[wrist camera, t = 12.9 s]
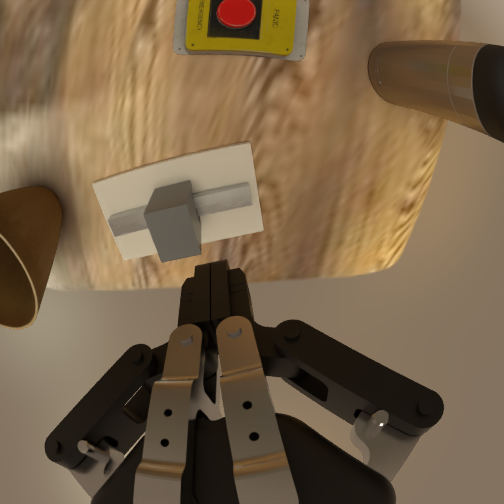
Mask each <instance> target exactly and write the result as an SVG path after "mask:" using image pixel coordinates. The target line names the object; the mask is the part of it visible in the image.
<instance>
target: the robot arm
mask: <svg viewBox="0 0 504 504" xmlns="http://www.w3.org/2000/svg"><path fill="white" fill-rule="evenodd" d="M368 71H369V76H370V80H371V83H372V85H373V87H374V88H375V90H376V92H377V93H378V94H379V95H380V96H381V97H382V98H383V99H384V100H386V101H388V102H390V103H393V104H396V105H400V106H404V107H408V108H411V109H415V110H418V111H422V112H425V113H428V114H431V115H435V116H438V117H441V118H444V119H447V120H450V121H453V122H455V123H458V124H461V125H463V126H466V127H469V128H471V129H474V130H476V131H479V132H481V133H484V134H486V135H488V136H490V137H493V138H495V139H497V140H499V141H501V142H503V143H504V46H499V45H491V44H485V43H475V42H462V41H441V40H420V41H397V42H385V43H382V44H380V45H378V46H377V47H376V48H375V49H374V50H373V52H372V53H371V56H370V58H369V64H368ZM218 355H219V358H220V365H221V372H222V376H220V367H219V365H218ZM266 376H274V377H281V378H282V379H283V380H284V381H285V382H287V383H288V384H289V385H291V386H292V387H294V388H295V389H297V390H298V391H300V392H301V393H303V394H304V395H306V396H307V397H309V398H310V399H312V400H313V401H315V402H317V403H318V404H319V405H321V406H322V407H324V408H326V409H327V410H329V411H330V412H332V413H334V414H335V415H337V416H338V417H340V418H342V419H343V420H345V421H346V422H348V423H350V424H351V425H353V427H352V429H351V432H350V437H351V441H352V443H353V444H354V445H355V446H356V447H357V448H358V449H359V450H360V451H361V453H362V454H363V458H364V462H363V463H362V462H360V461H359V460H357V459H356V458H354V457H353V456H351V455H350V454H348V453H347V452H345V451H344V450H342V449H341V448H339V447H338V446H336V445H334V444H333V443H332V442H330V441H329V440H327V439H326V438H325V437H323V436H322V435H320V434H319V433H318V432H316V431H315V430H314V429H312V428H311V427H309V426H308V425H307V424H305V423H304V422H302V421H301V420H299V419H297V418H295V417H292V416H289V415H286V414H281V413H276V412H275V409H274V405H273V402H272V398H271V394H270V391H269V387H268V383H267V380H266ZM141 386H142V387H141ZM140 387H141V388H140ZM220 387H221V394H222V400H223V407H224V412H225V417H223V418H222V416H221V412H220V407H219V397H220ZM139 388H140V390H138V389H139ZM137 390H138V392H137V393H136V394H135V392H136V391H137ZM134 394H135V395H134ZM133 395H134V396H133ZM132 396H133V397H132ZM131 397H132V398H131ZM130 398H131V399H130ZM129 399H130V401H129V402H128V403H127V401H128V400H129ZM126 403H127V404H126ZM125 404H126V405H125ZM124 405H125V406H124ZM443 411H444V404H443V401H442V398H441V397H440V396H439V394H437V393H436V392H435V391H433V390H430V389H428V388H427V387H425V386H423V385H420V384H418V383H417V382H415V381H413V380H411V379H409V378H407V377H405V376H403V375H401V374H399V373H397V372H395V371H393V370H391V369H389V368H387V367H385V366H383V365H381V364H380V363H378V362H375V361H374V360H372V359H370V358H368V357H366V356H364V355H362V354H361V353H359V352H357V351H355V350H353V349H351V348H349V347H348V346H346V345H344V344H342V343H340V342H339V341H337V340H335V339H333V338H331V337H329V336H328V335H326V334H324V333H322V332H320V331H318V330H317V329H315V328H313V327H311V326H310V325H308V324H306V323H304V322H302V321H300V320H287V321H284V322H282V323H280V324H279V325H278V326H277V327H276V328H272V327H264V326H261V325H259V324H257V323H256V322H255V321H254V315H253V309H252V303H251V297H250V293H249V288H248V284H247V280H246V276H245V274H244V272H243V271H242V270H241V269H240V268H236V269H231V270H230V268H229V265H228V261H227V259H226V260H221V261H216V262H211V263H207V264H202V265H197V266H195V273H194V277H191V278H187V279H186V281H185V282H184V284H183V285H182V289H181V298H180V308H179V317H178V328H176V329H175V330H174V331H173V332H172V333H171V335H170V338H169V341H168V342H167V343H165V344H163V345H161V346H159V347H156V348H154V349H151V348H150V347H149V346H147V345H145V344H137V345H134V346H132V347H130V348H129V349H128V350H127V351H126V352H125V353H124V354H123V355H122V356H121V358H119V360H118V361H117V362H116V363H115V364H114V365H113V366H112V367H111V368H110V369H109V370H108V371H107V372H106V373H105V374H104V376H103V377H102V378H101V379H100V380H99V381H98V382H97V383H96V384H95V385H94V386H93V387H92V388H91V389H90V391H89V392H88V393H87V394H86V395H85V396H84V397H83V398H82V399H81V400H80V401H79V403H78V404H77V405H76V406H75V407H74V408H73V409H72V410H71V411H70V412H69V414H68V415H67V416H66V417H65V418H64V419H63V420H62V421H61V422H60V424H59V425H58V426H57V427H56V428H55V429H54V430H53V431H52V432H51V434H50V435H49V436H48V437H47V439H46V441H45V453H46V455H47V457H48V458H49V459H50V460H51V461H53V462H55V463H57V464H59V465H61V466H63V467H65V468H67V469H68V470H69V471H70V472H71V473H72V475H73V476H74V477H75V479H76V480H77V481H78V482H79V484H80V485H81V486H82V487H83V489H84V490H85V491H86V492H87V493H88V495H89V496H90V497H91V498H92V500H91V504H396V495H395V491H394V488H393V486H392V484H391V483H390V482H391V481H392V480H393V478H394V477H395V475H396V474H397V473H398V471H399V470H400V468H401V467H402V465H403V464H404V462H405V461H406V459H407V458H408V456H409V455H410V453H411V452H412V450H413V448H414V447H415V445H416V443H417V442H418V440H419V438H420V437H421V436H422V435H423V434H424V433H425V432H427V431H428V430H429V429H430V428H432V427H433V426H434V425H435V424H436V423H437V422H438V421H439V420H440V419H441V417H442V415H443ZM145 431H146V432H145ZM144 432H145V435H144V436H143V437H142V438H141V439H140V441H139V442H138V443H137V444H136V445H135V447H134V448H133V449H132V450H131V452H130V453H129V454H128V455H127V457H126V458H125V459H124V455H125V454H126V453H127V452H128V451H129V449H130V448H131V447H132V446H133V445H134V444H135V443H136V441H137V440H138V439H139V438H140V437H141V435H142V434H143V433H144Z"/></svg>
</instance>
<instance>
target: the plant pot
mask: <svg viewBox="0 0 504 504" xmlns="http://www.w3.org/2000/svg"><path fill="white" fill-rule="evenodd" d="M62 216H63V212H62V207H61V204H60V201H59V200H58V198H57V196H56V195H55V194H54V193H53V192H52V191H51V190H49V189H48V188H45V187H42V186H35V187H24V188H19V189H14V190H10V191H6V192H3V193H0V326H2V327H5V328H8V329H14V330H20V329H25V328H27V327H29V326H31V325H32V324H33V323H34V321H35V320H36V317H37V314H38V311H39V308H40V304H41V301H42V298H43V294H44V291H45V288H46V285H47V282H48V278H49V275H50V271H51V268H52V264H53V260H54V257H55V253H56V249H57V244H58V240H59V235H60V230H61V223H62Z"/></svg>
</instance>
